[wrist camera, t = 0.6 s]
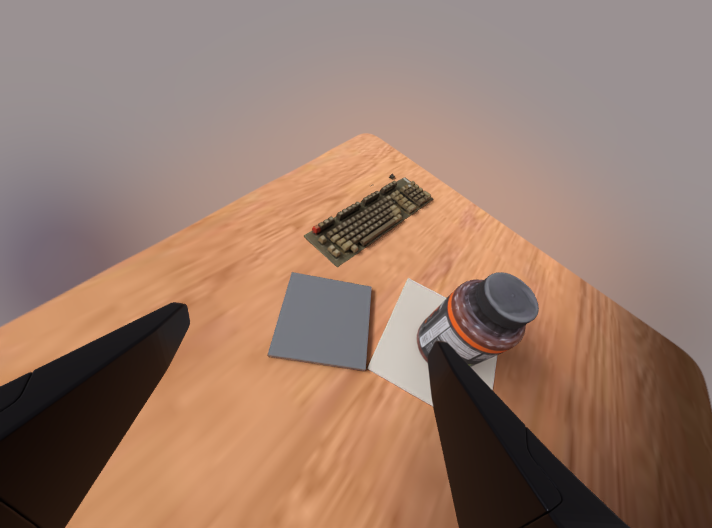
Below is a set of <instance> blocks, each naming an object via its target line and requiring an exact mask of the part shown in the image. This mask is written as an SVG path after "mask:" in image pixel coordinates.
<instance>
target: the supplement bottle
mask: <svg viewBox="0 0 712 528" xmlns="http://www.w3.org/2000/svg"><path fill="white" fill-rule="evenodd" d="M538 309H539V308H538V302H537V299H536V297H535V295H534V293H533V292H532V290H531V289H530V288H529V287H528V286H527V285H526V284H525V283H524V282H523V281H521V280H520V279H518V278H517V277H515V276H513V275H511V274H507V273H494V274H491V275H490V276H488V277H487V278H486V279H485V280H470V281H466V282H465V283H463V284H461V285H460V286H459V287H458V288H457V289H456V290H455V291H454V292H453V293H451V294H450V295H449V296H448V297H447V298H446V299H445V300H444V301H443V302H442V303H441V305H440V306H439V307H438V308H436V309H435V310H434V311H433V312H432V313H431V314H430V315H429V316H428V317H427V318H426V319H425V320H424V321H423V323H422V324H421V325H420V327H419V329H418V333H417V345H418V349H419V351H420V354H421V355H422V357H423V358H424V359H425V361H426V362H427V363H428V360H427V358H428V354H429V352H430V350H431V348H432V346H433V344H434V343H435V341H444V342H447V343H448V344H449V345H450V346H451V347H452V348H453V349H454V350H455V351H456V352H457V353H458V354H459V355H460V356H461V357H462V358H463V359H464V361H465V362H466V363H467V364H468V365H469V366H470V367H472V366H474V365H476V364H478V363H481V362H483V361H485V360H487V359H489V358H492V357H494V356H496V355H498V354H501V353H503V352H505V351H507V350H509V349H511V348H513V347H514V346H515V345H517V344H518V343H519V342H520V341H521V340H522V338H523V336H524V333H525V328H526V324H527V323H529V322H531V321H532V320H534V319H535V318H536V316H537V314H538Z"/></svg>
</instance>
